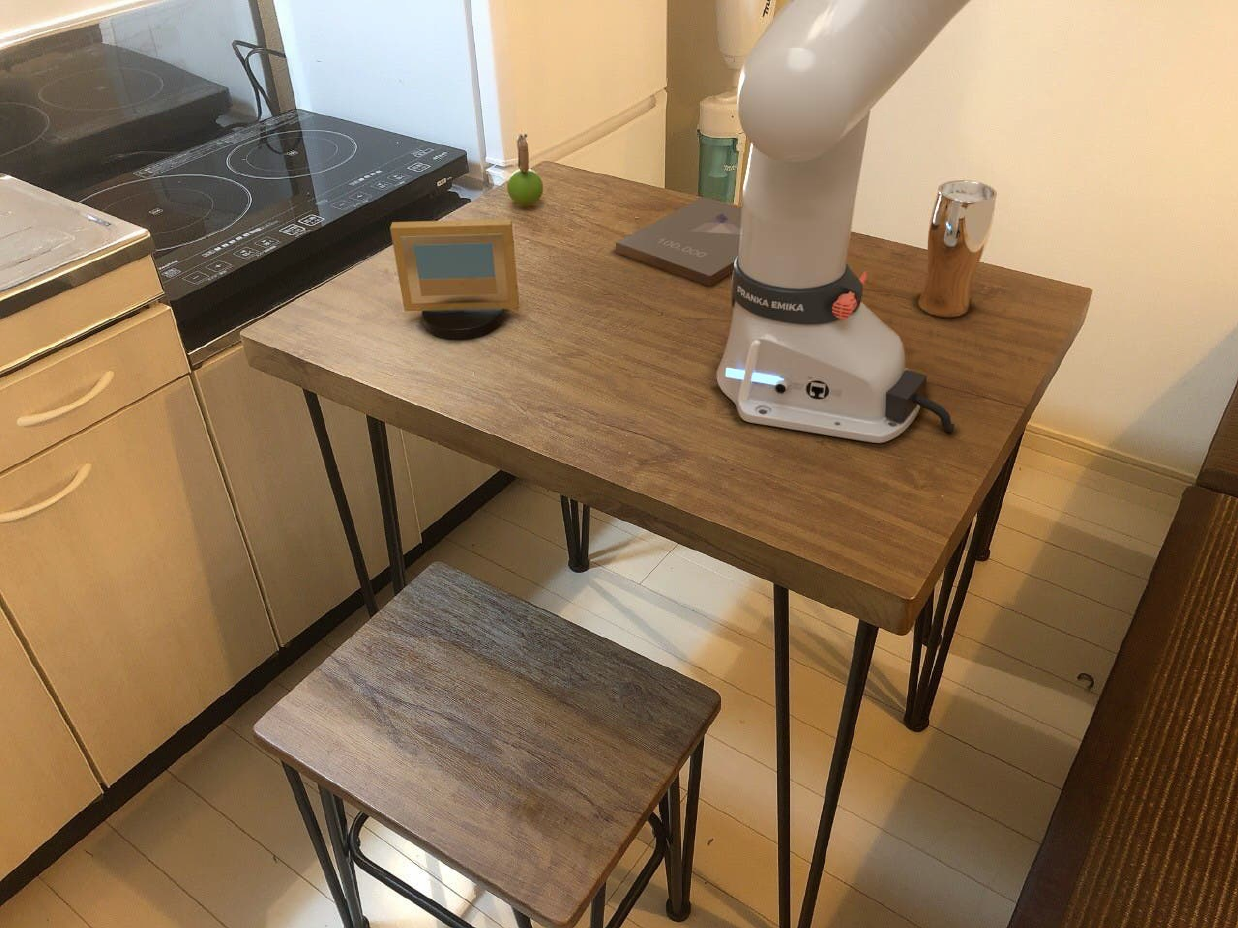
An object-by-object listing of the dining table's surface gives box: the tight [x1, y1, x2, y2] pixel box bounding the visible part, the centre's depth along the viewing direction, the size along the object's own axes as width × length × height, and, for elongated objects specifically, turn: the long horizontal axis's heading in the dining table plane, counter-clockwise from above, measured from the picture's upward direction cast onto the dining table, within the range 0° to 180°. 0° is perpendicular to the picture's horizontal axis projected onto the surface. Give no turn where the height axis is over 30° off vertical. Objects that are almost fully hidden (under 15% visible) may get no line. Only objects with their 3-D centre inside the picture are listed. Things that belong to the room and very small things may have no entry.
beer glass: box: [917, 179, 998, 318], centre depth 117 cm, size 7×7×15 cm
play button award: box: [615, 196, 742, 287], centre depth 136 cm, size 16×2×20 cm
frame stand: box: [421, 309, 505, 341], centre depth 120 cm, size 10×10×2 cm
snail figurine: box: [506, 133, 544, 207], centre depth 144 cm, size 5×6×12 cm
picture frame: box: [389, 218, 520, 312], centre depth 116 cm, size 14×2×11 cm, turn 91°
